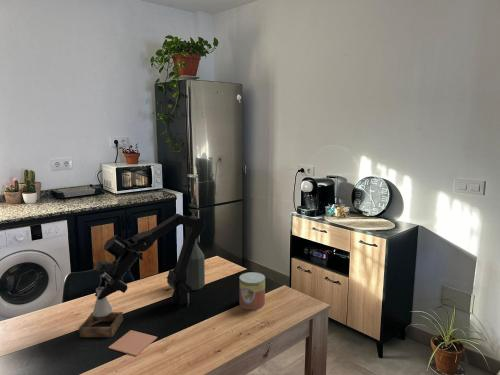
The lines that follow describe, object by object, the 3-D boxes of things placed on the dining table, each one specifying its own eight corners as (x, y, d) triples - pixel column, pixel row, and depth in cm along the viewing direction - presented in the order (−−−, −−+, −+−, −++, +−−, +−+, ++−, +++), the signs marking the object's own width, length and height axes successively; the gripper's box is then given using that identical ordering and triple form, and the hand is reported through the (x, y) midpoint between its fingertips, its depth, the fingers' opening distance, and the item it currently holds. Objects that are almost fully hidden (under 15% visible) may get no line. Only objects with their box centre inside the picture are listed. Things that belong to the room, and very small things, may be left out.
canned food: (235, 306, 164) (235, 280, 162) (245, 295, 174) (245, 270, 172) (259, 311, 160) (259, 284, 158) (268, 299, 170) (268, 274, 168)
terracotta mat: (131, 331, 144) (131, 330, 144) (157, 337, 140) (157, 336, 140) (108, 348, 133) (108, 347, 133) (136, 356, 129) (136, 355, 129)
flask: (115, 308, 148) (113, 284, 146) (107, 318, 141) (105, 293, 139) (97, 308, 149) (95, 284, 147) (88, 317, 141) (86, 292, 140)
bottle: (202, 290, 179) (201, 229, 173) (182, 290, 179) (180, 229, 173) (205, 281, 189) (204, 223, 183) (186, 281, 189) (184, 223, 184)
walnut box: (122, 320, 152) (122, 312, 152) (112, 337, 140) (111, 328, 140) (93, 320, 152) (92, 312, 152) (79, 336, 140) (79, 328, 140)
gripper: (100, 245, 150) (73, 279, 146) (116, 259, 136) (86, 297, 131) (121, 260, 156) (96, 292, 152) (139, 274, 142) (111, 311, 137)
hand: (97, 297), depth 143 cm, fingers closed on flask, 3 cm apart
